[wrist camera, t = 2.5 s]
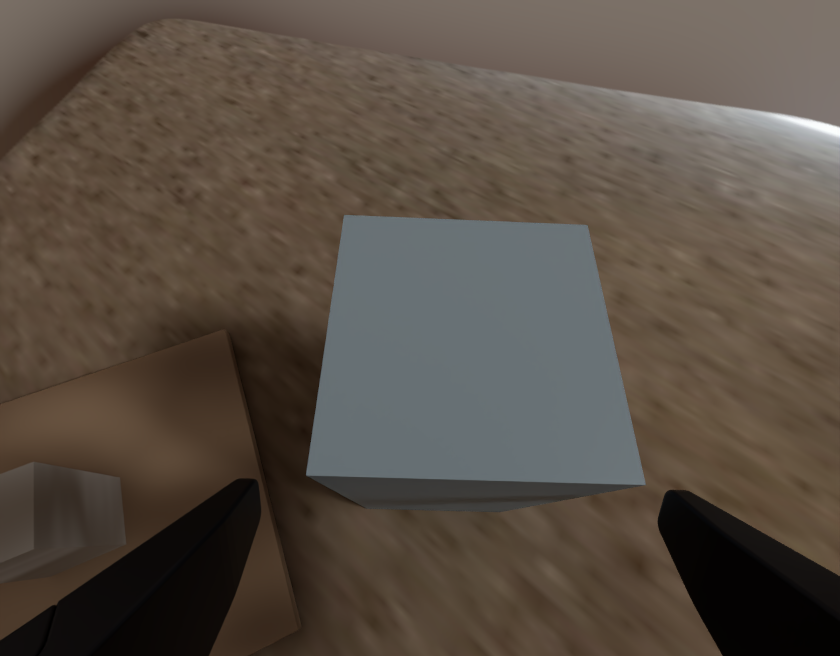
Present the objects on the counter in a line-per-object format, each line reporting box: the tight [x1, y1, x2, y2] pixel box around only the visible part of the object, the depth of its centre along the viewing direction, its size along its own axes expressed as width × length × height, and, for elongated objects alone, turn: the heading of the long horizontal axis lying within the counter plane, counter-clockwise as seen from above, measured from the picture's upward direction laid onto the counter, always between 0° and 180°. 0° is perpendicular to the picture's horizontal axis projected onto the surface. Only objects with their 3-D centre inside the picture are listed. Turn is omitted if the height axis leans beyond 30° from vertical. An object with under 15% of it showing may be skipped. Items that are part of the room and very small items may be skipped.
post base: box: [0, 329, 302, 656], centre depth 15 cm, size 14×14×5 cm
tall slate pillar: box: [306, 215, 646, 512], centre depth 14 cm, size 6×6×12 cm
